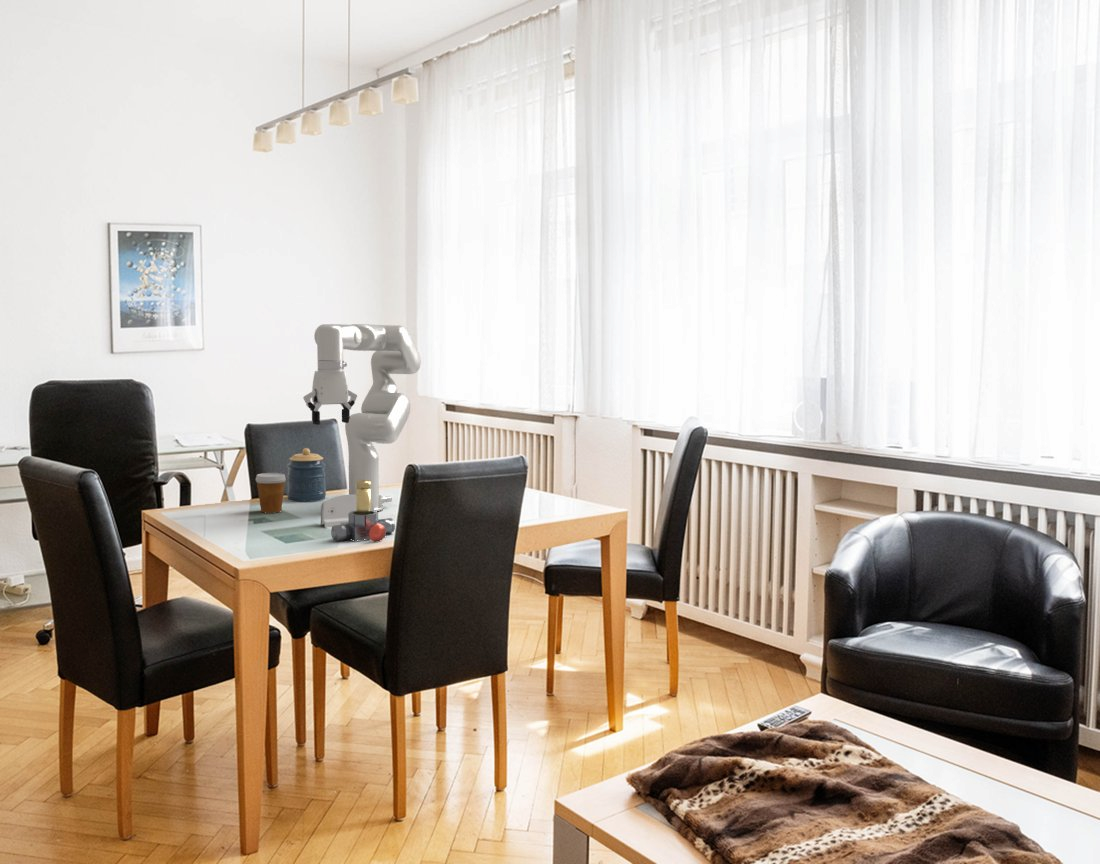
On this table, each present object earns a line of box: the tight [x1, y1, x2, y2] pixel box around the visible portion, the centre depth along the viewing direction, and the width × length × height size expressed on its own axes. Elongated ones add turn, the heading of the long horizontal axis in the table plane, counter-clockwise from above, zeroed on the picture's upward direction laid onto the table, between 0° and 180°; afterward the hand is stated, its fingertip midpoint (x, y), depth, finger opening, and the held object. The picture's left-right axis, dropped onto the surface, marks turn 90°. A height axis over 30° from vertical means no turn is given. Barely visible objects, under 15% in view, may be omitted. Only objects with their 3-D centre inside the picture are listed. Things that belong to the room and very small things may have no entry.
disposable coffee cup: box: [254, 472, 287, 514], centre depth 315 cm, size 10×10×12 cm
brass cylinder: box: [356, 480, 371, 515], centre depth 279 cm, size 4×4×12 cm
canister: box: [286, 447, 327, 503], centre depth 339 cm, size 13×13×18 cm
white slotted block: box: [320, 494, 374, 529], centre depth 298 cm, size 17×5×10 cm, turn 118°
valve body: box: [330, 510, 396, 542], centre depth 278 cm, size 18×12×7 cm, turn 131°
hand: (331, 423), depth 297 cm, fingers open, 9 cm apart
